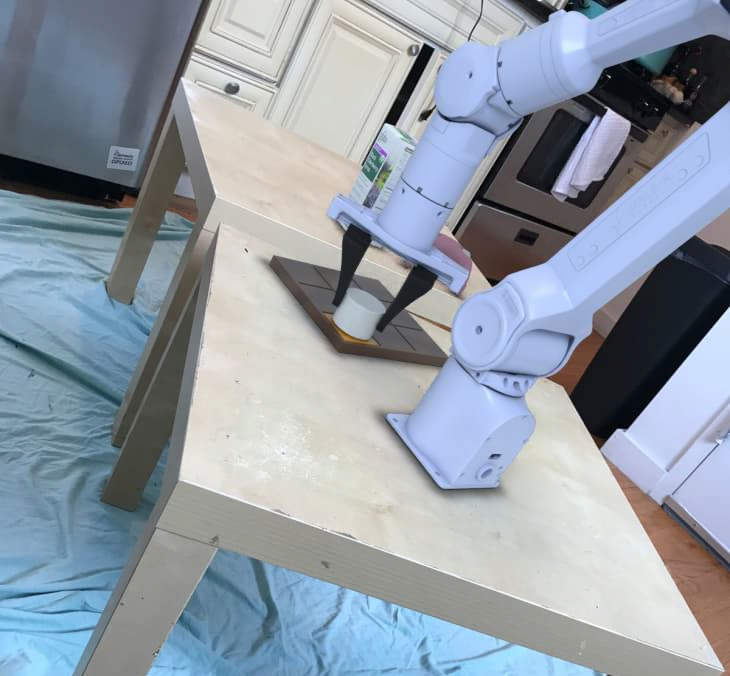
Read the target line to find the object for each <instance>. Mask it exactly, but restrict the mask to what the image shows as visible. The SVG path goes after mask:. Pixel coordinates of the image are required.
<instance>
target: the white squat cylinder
mask: <svg viewBox="0 0 730 676" xmlns="http://www.w3.org/2000/svg"><path fill="white" fill-rule="evenodd" d="M385 313H386V308H385V307H384V305H383V304H382V303H381V302H380V301H379V300H378V299H377V298H375V297H374V296H372V295H371V294H369V293H367V292H365V291H363V290H360V289H357V288H348V289H347V290H346V292H345V294H344V296H343V298H342V300H341V302H340V304H339V306H338V307H337V309H336V311H335V312H334V314H333V321H334V323H335V324H336V325H337V326H338V327H339V328H340V329H341V330H343V331H344V332H345V333H347V334H349V335H351V336H353V337H355V338H358V339H361V340H369V339H371V337H372V336H373V334H374V332H375V330H376V328H377V326H378V324H379V323H380V321H381V319H382V318H383V316H384V315H385Z"/></svg>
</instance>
